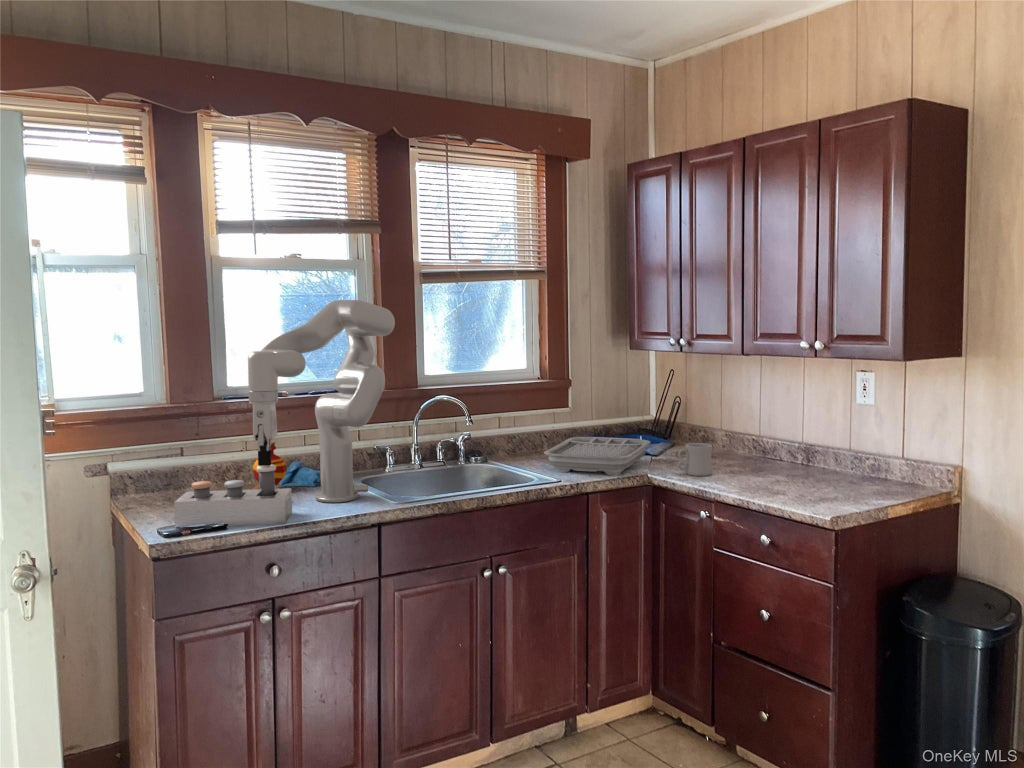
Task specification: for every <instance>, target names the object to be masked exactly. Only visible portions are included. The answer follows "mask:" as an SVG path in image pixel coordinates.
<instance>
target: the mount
mask: <svg viewBox="0 0 1024 768" xmlns="http://www.w3.org/2000/svg"><path fill="white" fill-rule="evenodd" d="M292 493H293V491H292V487H291V488H289V487H287V488H285V487H284V488H280V489H275V495H273V496H260V490H259V489H253V488H252V489H243V497H227V489H225V490H210V498H194V490H193V491H186V492H185V493H183V494H182V495H181V496H180V497H179V498H177V499H176V500H175V501H174V521H175V522H174V526H175V528H176V527H177V526H185V525H195V524H209V523H210V524H211V523H225V524H228V526H227V527H241V526H266V525H267V526H268V525H286V524H287V523H288V522H289V519H290V518H291V516H292V514H293V494H292Z"/></svg>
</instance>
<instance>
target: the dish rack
mask: <svg viewBox="0 0 1024 768" xmlns="http://www.w3.org/2000/svg"><path fill="white" fill-rule="evenodd" d="M650 444H651V441H650V440H646V439H642V438H641V439H640V438H627V437H626V438H625V437H604V436H603V437H602V436H601V437H599V436H574V437H569V438H567V439H565V440H564V441H562V442H560V443H558V444H557V445H555V446H553V447H552V446H551V448H549V449H547V450H545V451H543V454H544V455H546V456H548V465H549V466H550V467H551V466H552V467H553V468H554V469H557V471H558V472H562V473H568V472H570V470H572V471H577V472H580V471H582V472H597V471H598V472H604V473H605V474H606V475H607V476H619V475H621V474H622V472H623V471H624V470H626V469H628V468H629V467H631V466H632V465H634V464H636V463H637V461H639V460H640V459H641V458H643V457H644V456H645V455H646V447H647V446H649V445H650Z"/></svg>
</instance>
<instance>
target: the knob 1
mask: <svg viewBox="0 0 1024 768" xmlns="http://www.w3.org/2000/svg"><path fill="white" fill-rule="evenodd" d="M212 485H213V484H212V481H209V480H200V481H194V482H191V488H192V489H193V491H194V498H210V491H211V487H212Z"/></svg>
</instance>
